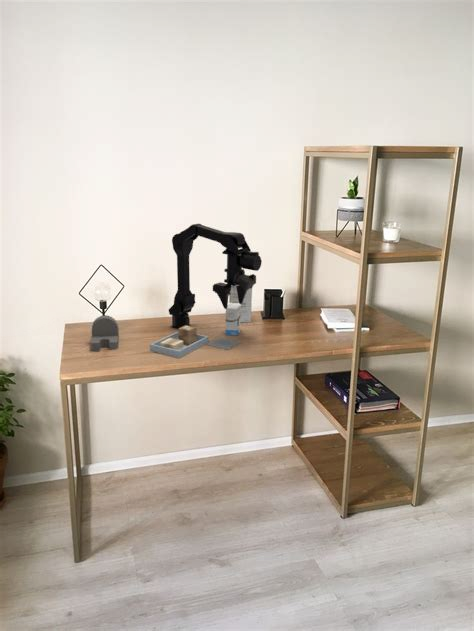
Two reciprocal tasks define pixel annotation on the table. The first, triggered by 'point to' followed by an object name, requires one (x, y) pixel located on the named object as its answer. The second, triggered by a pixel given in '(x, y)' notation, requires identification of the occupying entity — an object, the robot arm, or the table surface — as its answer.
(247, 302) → the supplement box
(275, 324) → the table surface
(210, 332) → the table surface
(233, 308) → the ink box
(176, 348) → the birch box
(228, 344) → the mat
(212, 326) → the table surface
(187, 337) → the walnut box
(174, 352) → the parts bin
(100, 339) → the bracket
